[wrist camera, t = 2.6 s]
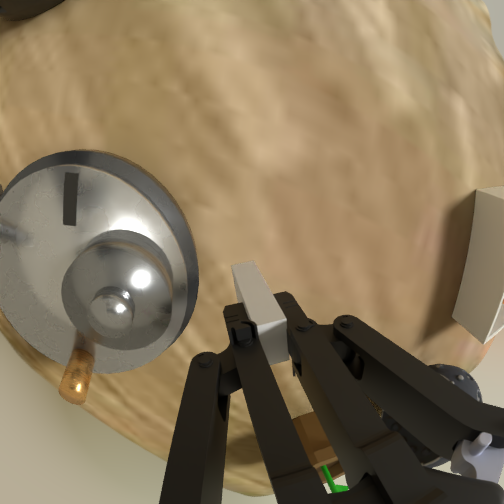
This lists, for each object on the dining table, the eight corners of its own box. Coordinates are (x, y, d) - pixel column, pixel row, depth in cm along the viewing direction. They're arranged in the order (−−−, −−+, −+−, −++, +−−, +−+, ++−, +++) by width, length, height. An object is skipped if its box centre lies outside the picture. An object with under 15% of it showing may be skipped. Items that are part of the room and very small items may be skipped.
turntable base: (-23, 191, 17) (-34, 196, 15) (171, 119, 20) (170, 118, 18) (51, 363, 26) (46, 374, 24) (218, 338, 29) (220, 350, 28)
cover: (65, 242, 18) (34, 274, 13) (158, 218, 19) (149, 247, 14) (99, 325, 22) (85, 370, 17) (184, 309, 23) (186, 355, 18)
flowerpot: (356, 408, 43) (430, 531, 16) (304, 449, 46) (355, 565, 19) (307, 396, 37) (391, 564, 10) (249, 442, 40) (298, 590, 13)
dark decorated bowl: (358, 418, 45) (403, 494, 27) (421, 340, 40) (492, 416, 22) (389, 413, 49) (432, 477, 31) (446, 344, 43) (506, 406, 25)
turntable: (-10, 161, 15) (-56, 174, 9) (204, 177, 20) (212, 194, 15) (14, 344, 22) (-6, 383, 16) (178, 373, 27) (181, 422, 21)
